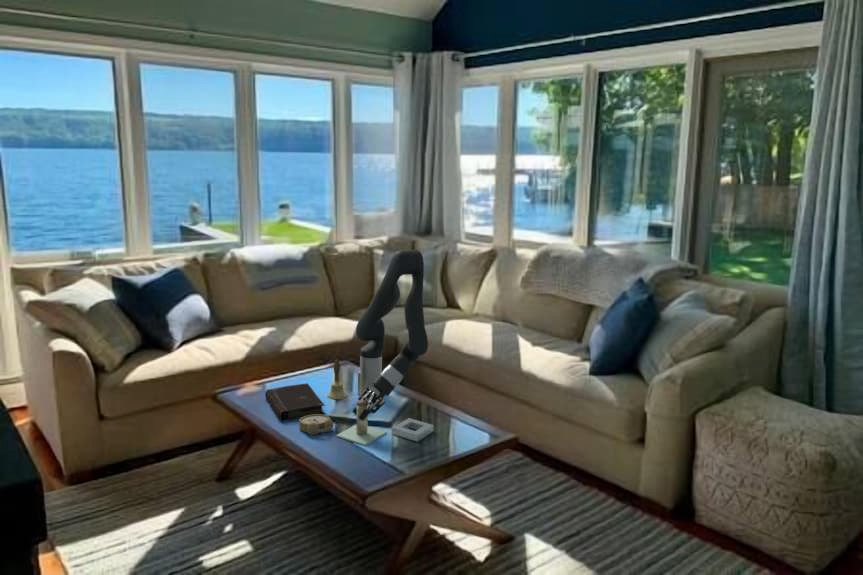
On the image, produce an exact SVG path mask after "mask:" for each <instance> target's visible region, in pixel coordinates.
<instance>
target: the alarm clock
mask: <svg viewBox="0 0 863 575" xmlns="http://www.w3.org/2000/svg"><path fill="white" fill-rule="evenodd" d="M298 425H299V430H300V431H301V432H304V433H307V434H308V435H311V436H316V435H317V434H319V433H330V432H331V431H332V430H333V429H334V422H333V420H332V419H331V417H330V416H328V415H326V414H324V415H322V414H313V415H307V416H304V417H301V418H299V424H298Z"/></svg>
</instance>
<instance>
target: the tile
mask: <svg viewBox="0 0 863 575" xmlns="http://www.w3.org/2000/svg"><path fill="white" fill-rule="evenodd" d="M387 433H388V432H387V431H385V430H383V429H379V428H376V427H373V426H369V425H368V427H367V434H366V435H357V434H356V424H354V425H353V426H351V427H349V428H348V429H347V428H346V429H345V430H343V431H342V432H340V433H338V434H336V437H337V438H340V439H343V440H346V441H349V442H352V443H355V444H357V445H361V446H365V447H366V446H367V445H369V444H371V443H372V442H373V443H374V441H376V440H378V439H379V438H382V437H383V436H384V435H386V434H387Z"/></svg>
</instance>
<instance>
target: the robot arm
mask: <svg viewBox="0 0 863 575" xmlns="http://www.w3.org/2000/svg"><path fill="white" fill-rule="evenodd" d="M424 265H425V264H424V257H423V254H422V252H421V251H420V250H417V249H401V250H397V251H395V252H394V254H393V255H392V257H391V259H390V262H389V264H388V267H387V270H386V272H385V274H384V277H383V278H382V280H381V282H380V285H379V286H378V289H377V290H376V292H375V294H374V296H373V298H372V300H371V302H370V304H369V305H368V307H367V309H366V310H365V311H364V313H363V314H362V316H361V317H360V318H359V320H358V322H357V324H356V328H355V335H356V337H357V338H358V340H360V341H362V342H367V344H365V345H364V346H362V347H361V348H360V351H359V358H360V359H359V371H358V372H357V394H358V395H359V396H358V398H357V401H359V400H366V401H368V405H367V407H366V410H365V409H364V410H363V412H362V413H361V414H360V415H359V416H358V417H359V418H360V419H361V420H362V421H363V420H364V419H365V418H366V417H367V416H368V417H369V415H368V414H376V413H377V412H378V411H379V410H380V409H381V408H382V407H383V406H384V405H385V404H386V401H385V400H384V397H385V396H386V397H389V396H390V394H392V392H393V391H394V390H395V389H396V387H397V386H398V385H399V384H400V383H401V381H403V379H404V377H405V376H406V375H407V374H408V372H409V371H410V370H411V368H412V367H413V364H414V363H415V362H416V361H417V360H418V358H419V357H420V356H423V355H425V354H426V353H427V352H428V349H429V342H428V335H427V330H426V326H425V314H424V303H423V301H424V300H423V297H424V296H423V295H424V276H425V275H424V274H425V272H424V270H425V266H424ZM404 275H406V276H407V275H411V279H412V280H411V281H412V282H411V288H410V291H409V294H408V296H407V297H406V301H405V305H404V319H405V327H406V329H407V331H408V332H407V333H408V334H407V335H408V341H407V343H406V344H405V345H404V346H403V347H402V349H401V350H400V352H399V353H398V354H397V356H395V357H394V358H393V359H392V360H391V362H390V363H389V364H388V365H387V366H386V367H384V368H383V351H384V344H385V333H386V331H385V324H384V321H383V319H382V318H384V317H386V316H387V315H388V314H390V313H391V312H392V311H393V310H394V308H395V307H396V305H397V303H398V302H399V301H400V297H401V291H400V287H399V284H398V281H399V279H400V278H401V277H402V276H404ZM368 341H369V342H368ZM382 368H383V369H382ZM353 408H354V409H353ZM353 408H352V413H353V414H354V413H355V414H354V415H356V416H357V405H356V406H354V407H353Z"/></svg>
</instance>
